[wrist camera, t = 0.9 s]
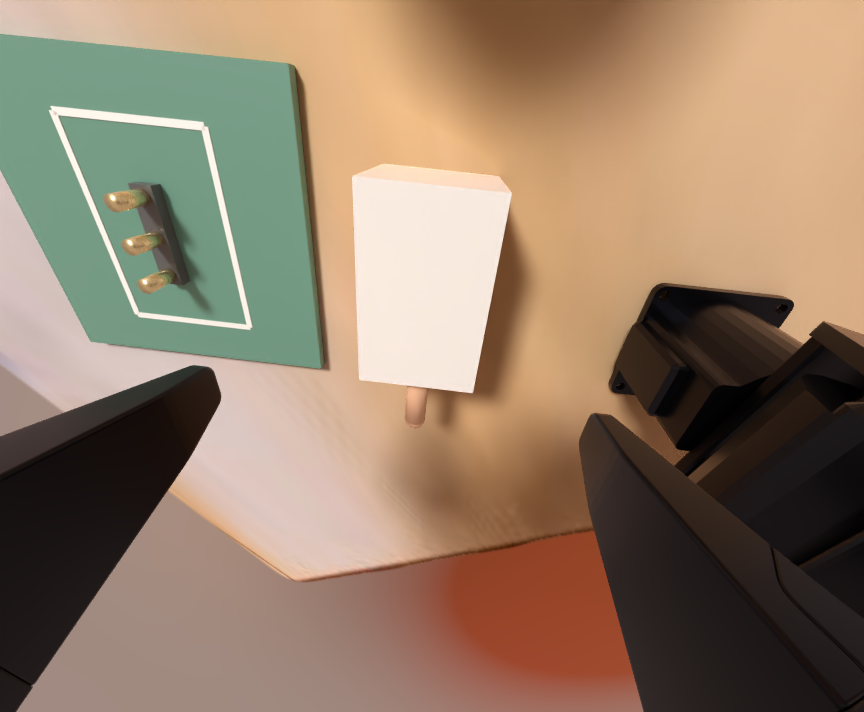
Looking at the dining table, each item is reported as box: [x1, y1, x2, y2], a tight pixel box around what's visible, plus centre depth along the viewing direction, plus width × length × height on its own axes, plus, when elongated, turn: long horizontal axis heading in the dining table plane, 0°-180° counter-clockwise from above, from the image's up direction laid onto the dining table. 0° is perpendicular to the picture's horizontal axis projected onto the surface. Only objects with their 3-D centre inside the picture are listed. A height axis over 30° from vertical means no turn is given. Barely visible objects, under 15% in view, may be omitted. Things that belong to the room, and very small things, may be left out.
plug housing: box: [352, 164, 512, 428], centre depth 16 cm, size 5×12×5 cm, turn 175°
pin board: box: [0, 34, 324, 369], centre depth 16 cm, size 14×14×3 cm
